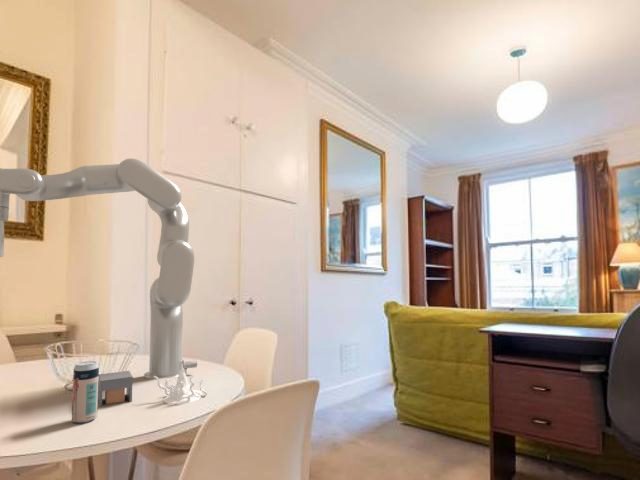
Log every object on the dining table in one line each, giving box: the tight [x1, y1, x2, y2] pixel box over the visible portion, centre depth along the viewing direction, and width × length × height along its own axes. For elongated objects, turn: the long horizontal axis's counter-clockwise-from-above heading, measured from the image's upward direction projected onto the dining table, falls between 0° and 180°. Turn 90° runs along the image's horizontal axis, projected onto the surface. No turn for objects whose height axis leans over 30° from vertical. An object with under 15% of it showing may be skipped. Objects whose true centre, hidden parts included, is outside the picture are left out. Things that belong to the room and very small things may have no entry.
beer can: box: [71, 360, 100, 424], centre depth 88 cm, size 5×5×12 cm
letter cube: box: [104, 388, 126, 405], centre depth 101 cm, size 4×4×4 cm
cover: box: [98, 370, 133, 408], centre depth 101 cm, size 7×7×6 cm
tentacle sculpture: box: [154, 362, 208, 405], centre depth 102 cm, size 9×12×9 cm
